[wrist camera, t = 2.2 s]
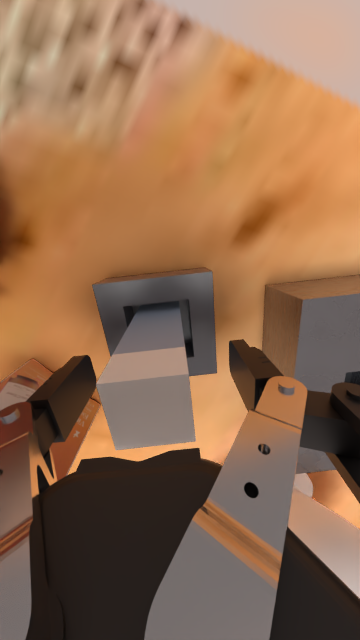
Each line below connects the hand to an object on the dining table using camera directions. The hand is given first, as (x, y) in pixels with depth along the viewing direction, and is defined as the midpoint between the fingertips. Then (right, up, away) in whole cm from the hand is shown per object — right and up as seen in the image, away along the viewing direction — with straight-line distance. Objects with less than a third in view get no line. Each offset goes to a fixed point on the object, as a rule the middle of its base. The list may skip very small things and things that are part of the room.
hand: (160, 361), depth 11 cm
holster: (0, +2, +6) cm, 6 cm away
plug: (0, +2, +5) cm, 6 cm away
